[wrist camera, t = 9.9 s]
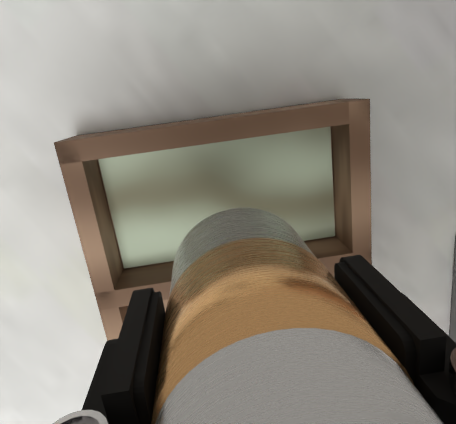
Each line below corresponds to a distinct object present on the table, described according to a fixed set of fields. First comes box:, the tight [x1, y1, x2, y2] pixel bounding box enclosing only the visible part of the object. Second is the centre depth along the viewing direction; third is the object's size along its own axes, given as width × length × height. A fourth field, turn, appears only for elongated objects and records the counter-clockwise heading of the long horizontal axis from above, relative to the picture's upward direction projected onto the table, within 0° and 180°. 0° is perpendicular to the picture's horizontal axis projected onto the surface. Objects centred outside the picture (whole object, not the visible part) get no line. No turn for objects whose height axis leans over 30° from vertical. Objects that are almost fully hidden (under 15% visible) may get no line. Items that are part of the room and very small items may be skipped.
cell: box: [151, 208, 444, 424], centre depth 9 cm, size 5×5×10 cm
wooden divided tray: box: [54, 99, 372, 341], centre depth 25 cm, size 20×17×4 cm
